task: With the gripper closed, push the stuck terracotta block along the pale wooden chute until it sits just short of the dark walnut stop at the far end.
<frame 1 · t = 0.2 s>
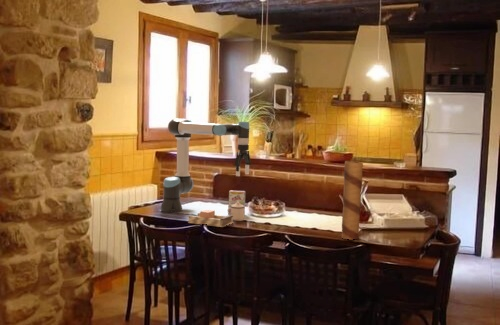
hand: (242, 175, 393), 28 cm above the table, tool pointing down, fingers open, 13 cm apart
chute: (210, 222, 367), on the table
wafer roll: (349, 238, 333), on the table
candy bar box: (236, 214, 398), on the table
jammed block: (207, 215, 367), point 4 cm above the table, slide at 0.0 cm
teacup with lid: (235, 219, 381), on the table
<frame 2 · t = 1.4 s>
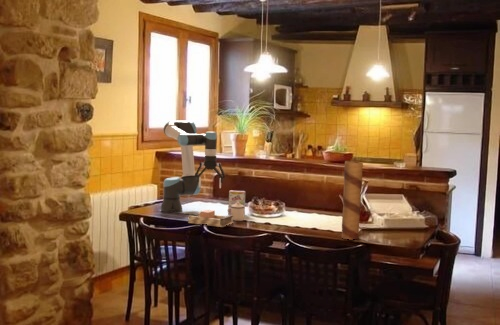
hand: (209, 187, 377), 21 cm above the table, tool pointing down, fingers open, 13 cm apart
nothing on the table moved.
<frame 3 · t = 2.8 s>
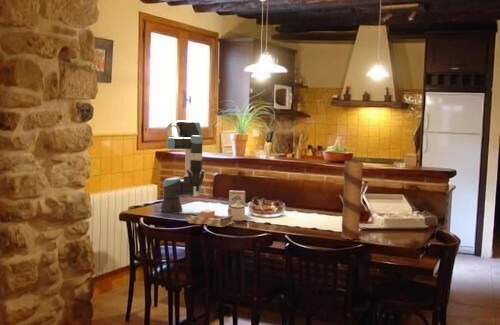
hand: (195, 196, 370), 16 cm above the table, tool pointing down, fingers closed
nothing on the table moved.
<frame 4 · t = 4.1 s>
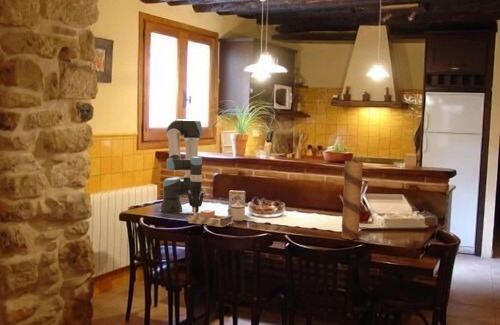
hand: (195, 217, 371), 3 cm above the table, tool pointing down, fingers closed
nothing on the table moved.
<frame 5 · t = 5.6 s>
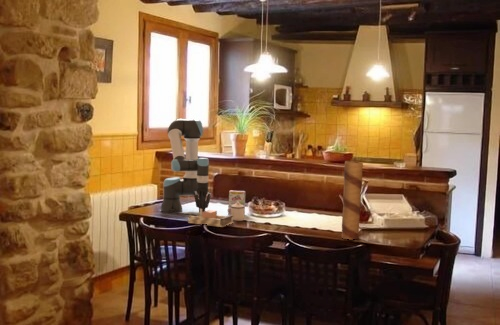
hand: (201, 218, 369), 2 cm above the table, tool pointing down, fingers closed
jammed block: (209, 216, 367), point 4 cm above the table, slide at 1.5 cm, touching gripper
everything else where it was.
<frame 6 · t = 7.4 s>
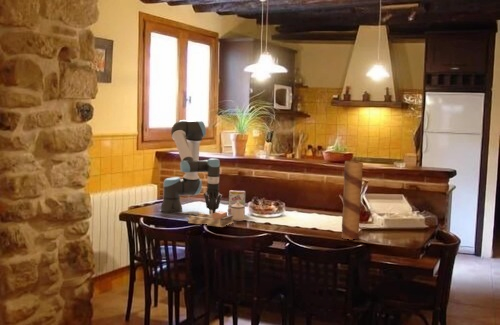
hand: (212, 219, 366), 2 cm above the table, tool pointing down, fingers closed
jammed block: (219, 217, 363), point 4 cm above the table, slide at 9.1 cm, touching gripper
everything else where it was.
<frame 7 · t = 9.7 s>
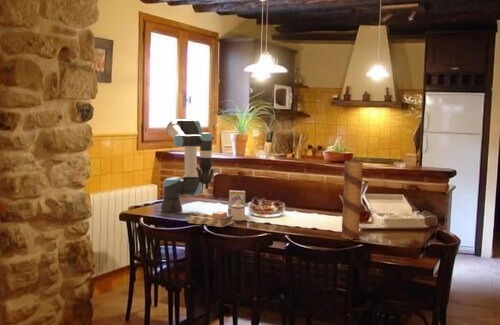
hand: (205, 193, 367), 18 cm above the table, tool pointing down, fingers closed
jammed block: (219, 217, 363), point 4 cm above the table, slide at 9.0 cm
everything else where it was.
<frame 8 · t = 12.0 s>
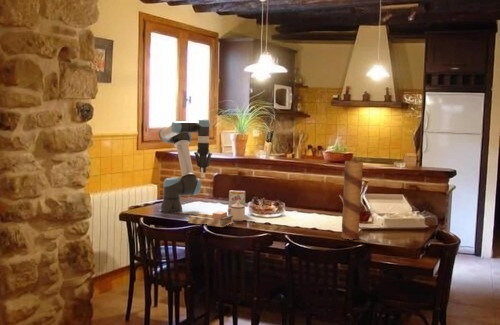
hand: (202, 177, 386), 26 cm above the table, tool pointing down, fingers closed
nothing on the table moved.
at the end: jammed block slide at 9.0 cm; teacup with lid moved 0.2 cm from its start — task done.
